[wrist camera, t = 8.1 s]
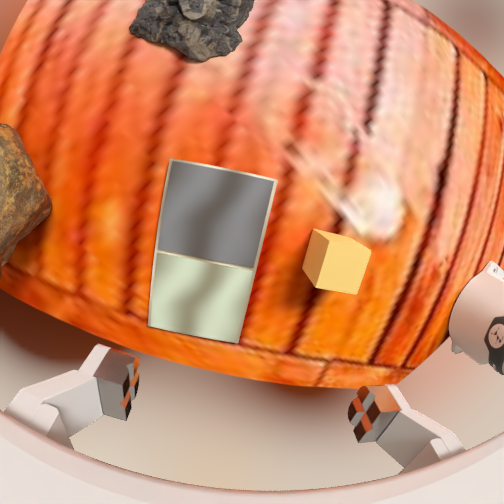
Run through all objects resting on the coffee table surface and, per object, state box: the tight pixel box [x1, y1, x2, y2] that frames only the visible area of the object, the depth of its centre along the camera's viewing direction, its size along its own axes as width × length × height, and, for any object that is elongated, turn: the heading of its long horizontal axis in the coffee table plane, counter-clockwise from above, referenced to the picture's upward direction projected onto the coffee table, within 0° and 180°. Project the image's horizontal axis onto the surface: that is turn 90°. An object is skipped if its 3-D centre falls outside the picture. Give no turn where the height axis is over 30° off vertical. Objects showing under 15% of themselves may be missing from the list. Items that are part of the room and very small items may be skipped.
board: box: [148, 158, 278, 343], centre depth 32 cm, size 12×21×1 cm, turn 167°
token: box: [302, 229, 371, 294], centre depth 30 cm, size 5×5×6 cm
